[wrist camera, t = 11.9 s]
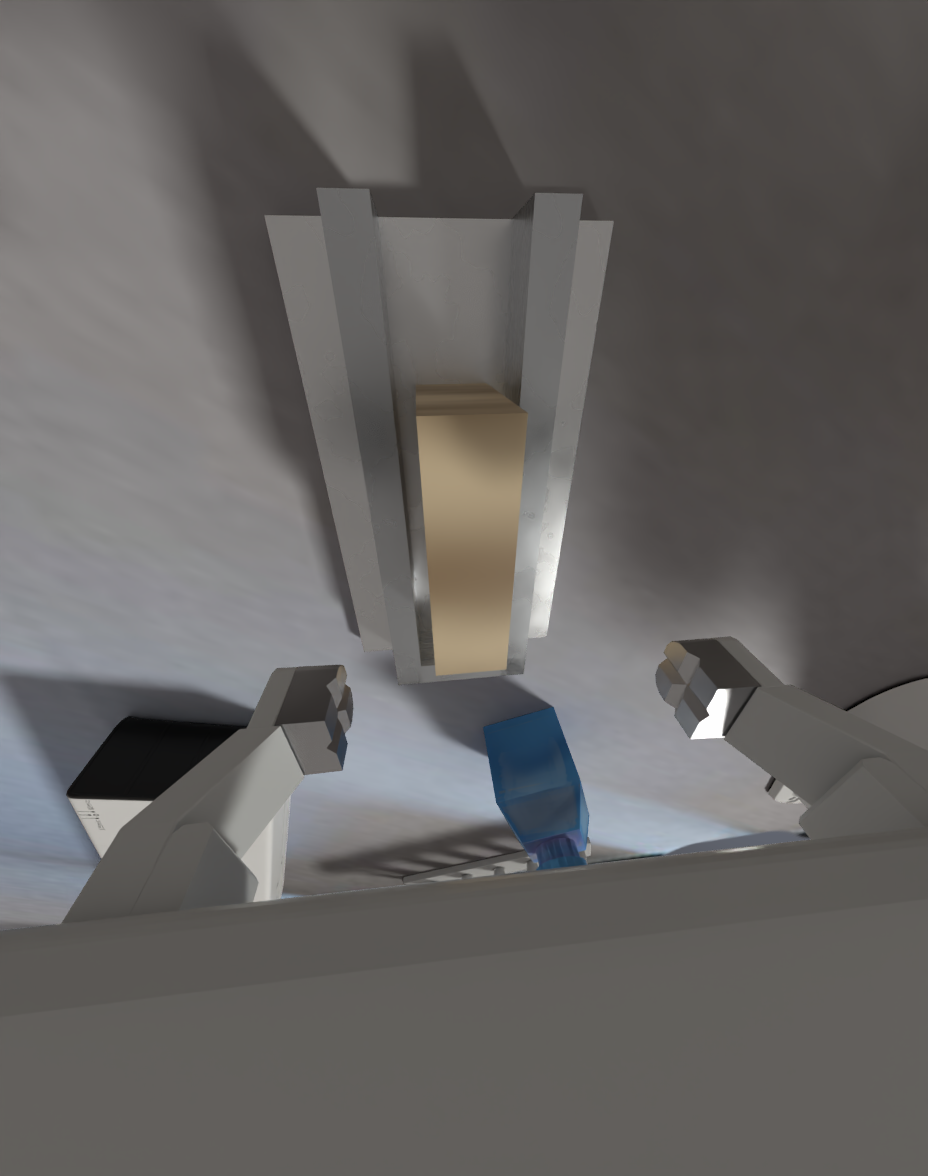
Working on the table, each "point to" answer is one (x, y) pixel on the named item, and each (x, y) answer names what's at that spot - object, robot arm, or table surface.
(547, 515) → the floor track
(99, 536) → the table surface
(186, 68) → the table surface
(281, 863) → the laminator
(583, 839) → the perfume bottle
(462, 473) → the tan wooden block
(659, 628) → the table surface
